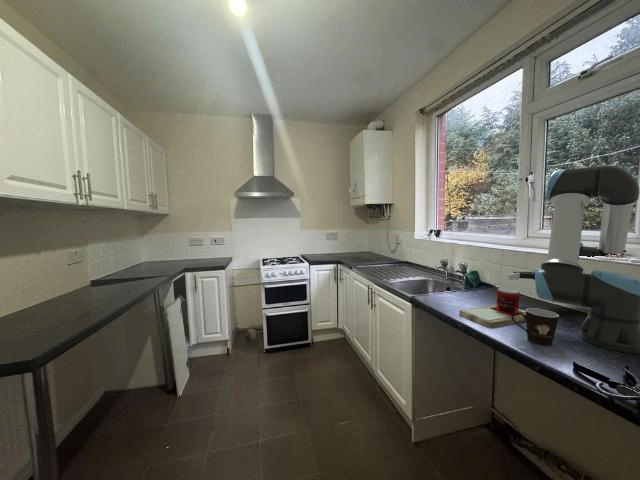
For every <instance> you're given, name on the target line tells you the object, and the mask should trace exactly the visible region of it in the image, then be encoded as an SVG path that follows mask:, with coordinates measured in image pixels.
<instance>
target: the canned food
mask: <svg viewBox="0 0 640 480" xmlns="http://www.w3.org/2000/svg"><path fill="white" fill-rule="evenodd" d="M496 294H497V295H496V296H497V297H496V305H497V308H496V311H498V312H501V313H504V314H507V315H510V316H512V314H513V313H517V312H518V310H519V309H520V296H521V294H520V290H518V289H515V288H510V287H498V288H497V293H496ZM516 315H518V314H516Z"/></svg>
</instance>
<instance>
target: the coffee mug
mask: <svg viewBox="0 0 640 480" xmlns="http://www.w3.org/2000/svg"><path fill="white" fill-rule="evenodd" d="M524 311H526V315H524V314H522V313H519V312H517V313H513V314H512V320H513V321H514V322H515V323H514V324H515V325H517V326H518V327H519V328H521V330H524V331H525V333H526V334H527V335H526V337H527V340H528V341H529V342H531V343H533V344H535V345H540V346H544V347H550V346H552V345H553V343H554V339H555V338H554V337H555V334H556V330H557V326H558V321H559V319H560V315H559V314H558V313H557V312H554V311H551V310H548V309H543V308H537V307H528V308H525V310H524ZM516 314H520V315H522V316H523V317H524V318H525V320H526V321H525V322H526V328H525V327H524V326H523V325H520V324H519V322H516V321H515V320H514V319H513V317H514V315H516Z"/></svg>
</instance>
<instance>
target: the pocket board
mask: <svg viewBox="0 0 640 480" xmlns="http://www.w3.org/2000/svg"><path fill="white" fill-rule="evenodd" d="M496 308H497V304H492V305H486V306H479V307H472V308H471V307H470V308H466V309H465V308H464V309H459V313H458V314H459V316H461V317H464V318H466V319H469V320H470V321H474V322H476V323H478V324H480V325H483V326H485V327H488V328H490V329H491V328H496V327H501V326H505V325H506V326H507V325H511V324H512V325H513V324H516V323H515V322H514V321H513V320H512V316H510V315H507V314H504V313H501V312H498V311H496ZM518 312H519V313H522V314H524V315H526V310H524V309H521V308H519V310H518ZM513 319H514V320H515V321H516V322H517V323H521V322H526V320H525V318H524V317H523V316H522V315H520V314H518V315H514V317H513Z"/></svg>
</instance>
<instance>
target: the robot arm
mask: <svg viewBox="0 0 640 480" xmlns="http://www.w3.org/2000/svg"><path fill="white" fill-rule="evenodd" d="M545 195H546V199H547V200H549V201H550V204H552V205H553V207H554V208H553V213H552V222H551V230H550V236H549V244H548V245H549V246H548V250H547V251H548V252H547V259H546V260H545V261H544V262H542V263H541V264H540V266H541V267H537V268H535V271H513V273H508V275H507V276H508V277H507V280H508V281H514V280H515V281H516V280H520V279H526V280H527V279H528V280H534V281H535V291H536V296H537V297H538V298H539V299H541V300H543V301H550V302H552V303H560V304H567V305H571V306H576V307H584V308H586V309H587V308H588V310H587V311H588V312H587V316H586V318H585V319H584V321H583V323H582V324H581V326H580V327H579V331H578V336H579V338H581V339H582V340H583V341H586V342H588V343H589V344H592V345H595V346H597V347H599V348H600V347H601V348H603V349H607V350H611V351H615V352H622V353H627V354H635V355H637V354H640V279H638V278H636V277H633V276H630V275H627V274H622V273H619V272H613V271H606V270H599V269H596V270H592V272H591V273H586V272H584V273H583V271H584V268H583V266H582V265H581V266H580V265H579V264H578V260H579V256H587V257H591V256H592V257H594V256H606V255H608V254H611V255H616V254H617V253H619V252H627V251H626V250H625V249H626V245H627V239H628V234H629V229H630V222H631V217H632V211H633V206H634V203H636V202H637V201H638V200H639V197H640V186H639V183H638V181H637V180H636V178H635V177H634V176H633V175H632V174H631V173H630V172H628V171H627V170H625V169H624V168H621V167H620V166H619V167H618V166H615V165H599V166H588V167H580V168H565V169H560V170H559V169H557V170H555V171H554V172H552V174H551V175H550V177H549V179H548V183H547V187H546V192H545ZM592 198H600V199H599V200H600V202H601V203H603V205H602V206H603V207H602V215H601V225H600V232H599V233H600V236H599V244H598V246H597V247H595V246H587V245H586V246H585V245H584V243H583V242H582V241H581V240H582V231H583V222H584V213H585V211H584V210H585V206H586V205H588V204H589V203H590V202H591V199H592ZM597 248H599V249H597ZM628 255H629V254H628Z"/></svg>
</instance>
